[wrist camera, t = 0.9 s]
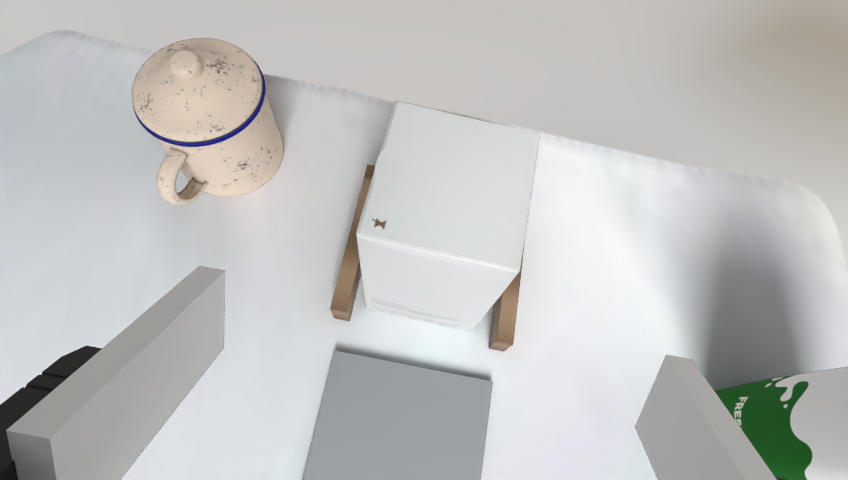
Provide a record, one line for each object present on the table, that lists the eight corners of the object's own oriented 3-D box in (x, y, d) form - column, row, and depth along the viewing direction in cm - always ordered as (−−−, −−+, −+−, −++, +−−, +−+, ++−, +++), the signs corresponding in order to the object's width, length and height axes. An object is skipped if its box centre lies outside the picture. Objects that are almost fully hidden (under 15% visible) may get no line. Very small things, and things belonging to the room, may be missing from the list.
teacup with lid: (209, 99, 45) (153, -8, 34) (303, 128, 45) (276, 29, 34) (142, 211, 41) (53, 129, 30) (245, 245, 40) (193, 174, 29)
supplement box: (474, 335, 39) (523, 278, 25) (363, 309, 39) (349, 237, 25) (493, 231, 42) (545, 130, 28) (391, 207, 42) (393, 95, 29)
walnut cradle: (368, 182, 43) (367, 164, 40) (520, 211, 43) (529, 196, 40) (334, 318, 38) (330, 308, 36) (504, 351, 38) (513, 344, 36)
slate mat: (335, 351, 38) (334, 350, 37) (491, 382, 37) (492, 381, 37) (291, 531, 33) (289, 532, 32) (468, 565, 33) (469, 568, 32)
